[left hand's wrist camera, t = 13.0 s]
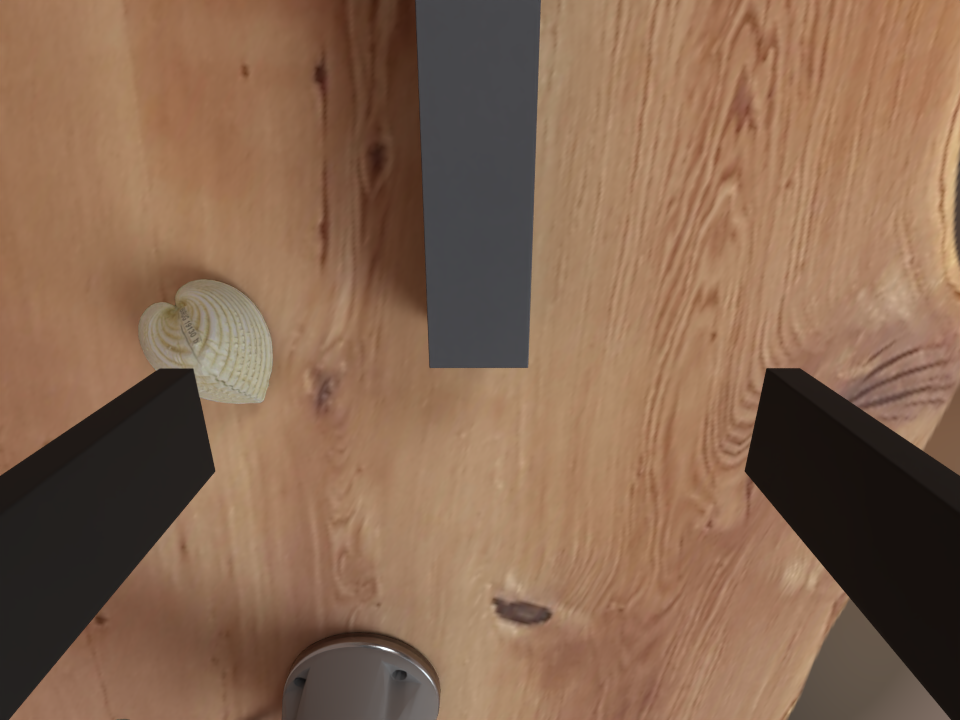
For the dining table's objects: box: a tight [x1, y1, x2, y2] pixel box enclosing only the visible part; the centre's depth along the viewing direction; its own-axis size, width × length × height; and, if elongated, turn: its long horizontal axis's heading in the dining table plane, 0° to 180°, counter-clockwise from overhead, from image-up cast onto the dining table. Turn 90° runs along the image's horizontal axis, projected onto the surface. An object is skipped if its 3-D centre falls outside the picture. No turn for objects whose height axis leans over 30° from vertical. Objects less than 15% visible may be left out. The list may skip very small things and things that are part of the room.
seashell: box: [138, 279, 273, 404], centre depth 37 cm, size 8×8×8 cm
